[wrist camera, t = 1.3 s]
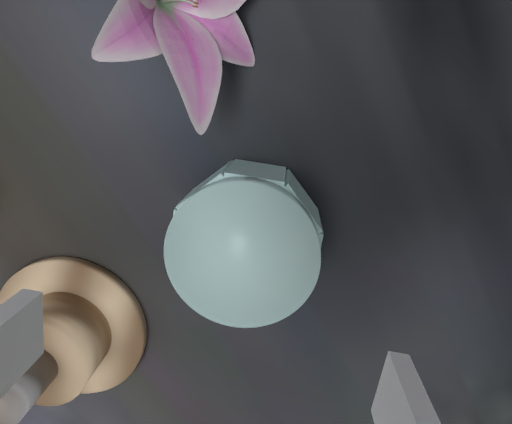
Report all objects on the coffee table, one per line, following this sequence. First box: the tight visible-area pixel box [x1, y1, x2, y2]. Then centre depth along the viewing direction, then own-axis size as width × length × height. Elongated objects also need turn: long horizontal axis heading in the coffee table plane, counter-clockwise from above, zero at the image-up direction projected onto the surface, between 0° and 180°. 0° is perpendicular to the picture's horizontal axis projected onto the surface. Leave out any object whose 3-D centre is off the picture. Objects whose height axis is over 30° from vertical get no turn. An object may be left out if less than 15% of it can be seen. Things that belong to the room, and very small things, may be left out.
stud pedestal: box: [0, 256, 147, 424], centre depth 28 cm, size 12×12×9 cm
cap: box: [164, 159, 324, 328], centre depth 25 cm, size 9×9×6 cm
